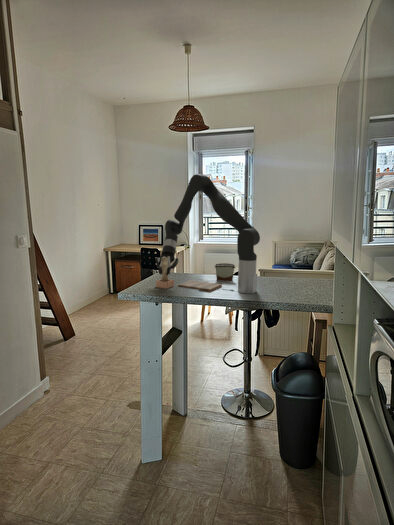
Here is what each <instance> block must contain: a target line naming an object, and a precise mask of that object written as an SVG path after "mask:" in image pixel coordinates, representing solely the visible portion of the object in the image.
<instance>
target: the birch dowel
mask: <svg viewBox="0 0 394 525" xmlns="http://www.w3.org/2000/svg"><path fill="white" fill-rule="evenodd" d="M167 268H168V257H162V274H161V279H162V281H164V282H167V281H168V279H169V275H167Z"/></svg>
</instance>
